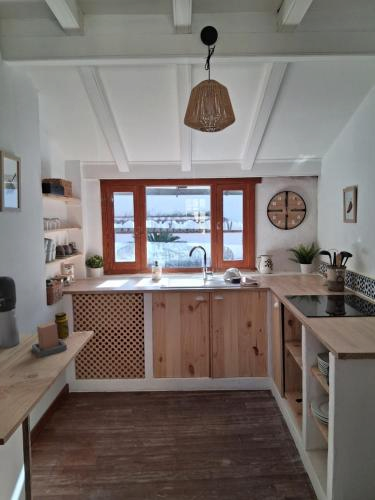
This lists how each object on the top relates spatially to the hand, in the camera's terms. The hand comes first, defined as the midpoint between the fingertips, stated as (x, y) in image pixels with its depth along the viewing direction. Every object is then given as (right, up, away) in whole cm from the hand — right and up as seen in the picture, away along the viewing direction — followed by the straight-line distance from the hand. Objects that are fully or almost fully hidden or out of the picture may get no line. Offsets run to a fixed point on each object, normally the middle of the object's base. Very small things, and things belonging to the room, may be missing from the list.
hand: (7, 298), depth 152 cm
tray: (+11, -25, +16) cm, 32 cm away
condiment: (+11, -24, +31) cm, 41 cm away
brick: (+11, -25, +16) cm, 32 cm away
